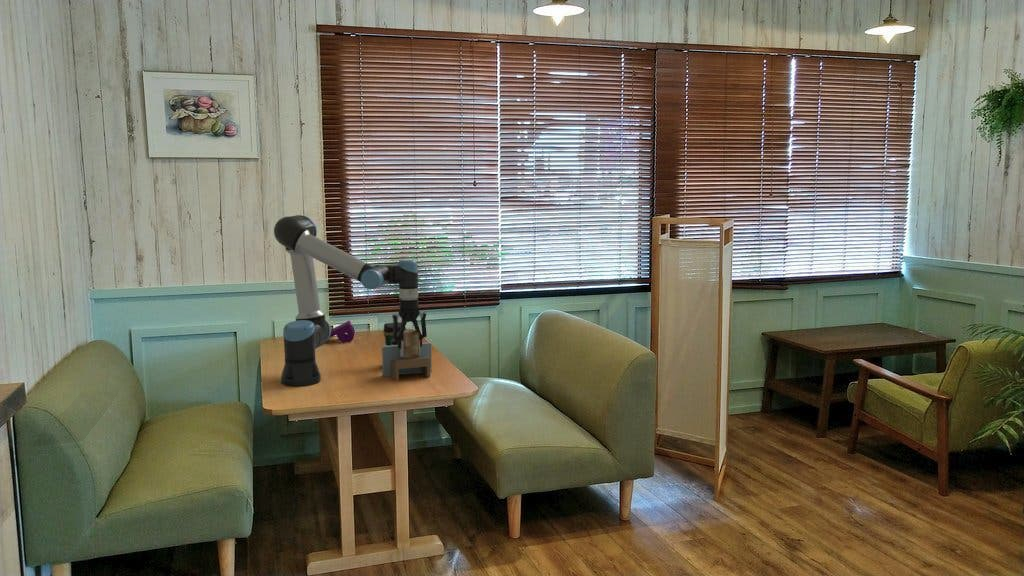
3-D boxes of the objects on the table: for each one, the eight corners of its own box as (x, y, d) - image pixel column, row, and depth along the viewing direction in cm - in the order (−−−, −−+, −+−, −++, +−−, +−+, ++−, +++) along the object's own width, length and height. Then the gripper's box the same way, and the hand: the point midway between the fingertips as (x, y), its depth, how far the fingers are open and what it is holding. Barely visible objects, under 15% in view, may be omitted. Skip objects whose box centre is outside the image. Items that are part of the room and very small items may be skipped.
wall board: (388, 381, 308) (387, 351, 306) (382, 375, 317) (381, 346, 316) (437, 376, 315) (437, 347, 313) (430, 370, 325) (429, 342, 323)
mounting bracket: (323, 355, 381) (356, 338, 382) (315, 340, 379) (348, 323, 381) (324, 351, 390) (357, 334, 391) (316, 336, 388) (349, 320, 390)
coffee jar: (405, 362, 340) (404, 320, 337) (408, 366, 332) (407, 323, 330) (382, 364, 337) (381, 321, 334) (386, 368, 329) (384, 324, 327)
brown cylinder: (404, 358, 310) (404, 333, 309) (401, 355, 316) (400, 330, 315) (419, 357, 313) (419, 332, 311) (415, 353, 318) (414, 329, 317)
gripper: (387, 301, 304) (389, 359, 307) (434, 298, 311) (435, 355, 314) (383, 298, 311) (384, 355, 314) (429, 296, 318) (430, 351, 321)
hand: (410, 355), depth 314 cm, fingers closed on brown cylinder, 6 cm apart
